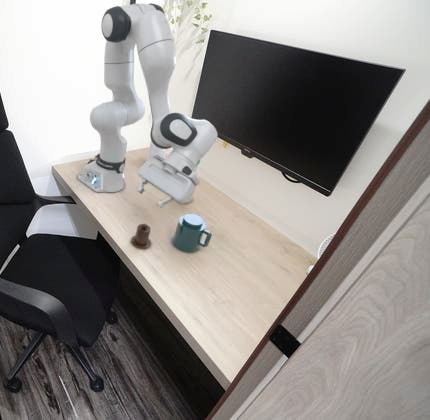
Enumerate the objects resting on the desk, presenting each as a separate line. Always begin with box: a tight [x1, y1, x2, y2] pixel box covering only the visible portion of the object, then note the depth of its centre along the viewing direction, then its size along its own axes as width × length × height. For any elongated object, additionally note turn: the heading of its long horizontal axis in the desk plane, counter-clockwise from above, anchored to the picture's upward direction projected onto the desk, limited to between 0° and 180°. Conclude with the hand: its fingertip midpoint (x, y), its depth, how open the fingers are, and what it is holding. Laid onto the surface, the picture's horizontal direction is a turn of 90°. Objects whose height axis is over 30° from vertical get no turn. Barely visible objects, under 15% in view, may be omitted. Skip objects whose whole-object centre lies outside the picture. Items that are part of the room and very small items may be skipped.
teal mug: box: [171, 213, 213, 254], centre depth 114 cm, size 12×9×12 cm
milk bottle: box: [185, 159, 201, 204], centre depth 136 cm, size 8×8×20 cm
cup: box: [146, 140, 168, 162], centre depth 160 cm, size 8×8×16 cm
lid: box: [130, 223, 152, 250], centre depth 115 cm, size 7×7×9 cm
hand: (148, 199), depth 107 cm, fingers open, 8 cm apart
